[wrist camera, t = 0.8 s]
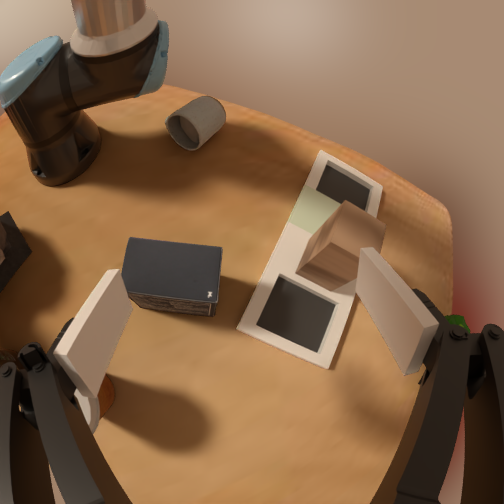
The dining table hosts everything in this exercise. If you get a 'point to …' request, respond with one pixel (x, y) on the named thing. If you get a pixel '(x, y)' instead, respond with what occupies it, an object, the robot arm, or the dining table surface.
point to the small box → (172, 276)
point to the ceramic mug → (196, 122)
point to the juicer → (11, 249)
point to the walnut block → (340, 246)
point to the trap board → (298, 288)
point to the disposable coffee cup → (97, 403)
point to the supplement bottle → (10, 358)
